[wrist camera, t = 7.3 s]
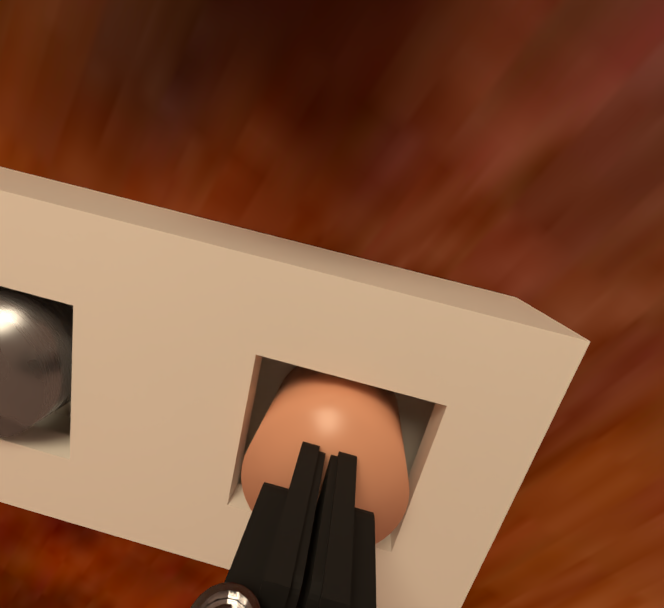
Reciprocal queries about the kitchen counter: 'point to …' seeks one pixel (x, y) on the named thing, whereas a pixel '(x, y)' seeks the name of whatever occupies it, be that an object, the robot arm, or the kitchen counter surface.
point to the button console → (265, 379)
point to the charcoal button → (33, 359)
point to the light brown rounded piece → (333, 441)
